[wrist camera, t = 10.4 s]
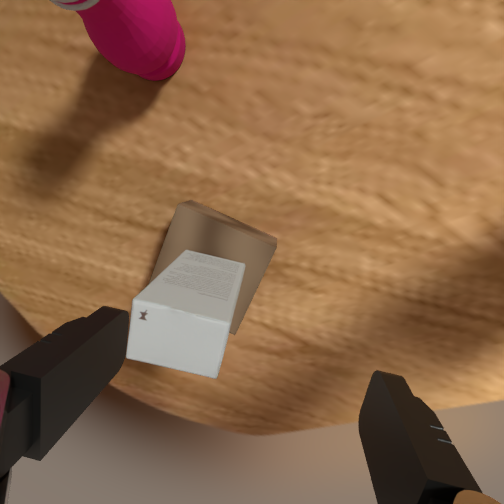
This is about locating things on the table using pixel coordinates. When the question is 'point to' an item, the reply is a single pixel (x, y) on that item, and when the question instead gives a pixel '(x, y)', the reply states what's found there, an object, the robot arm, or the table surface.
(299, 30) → the table surface
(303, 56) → the table surface
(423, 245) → the table surface
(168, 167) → the table surface
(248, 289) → the walnut block
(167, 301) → the skincare box
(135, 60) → the pepper mill
